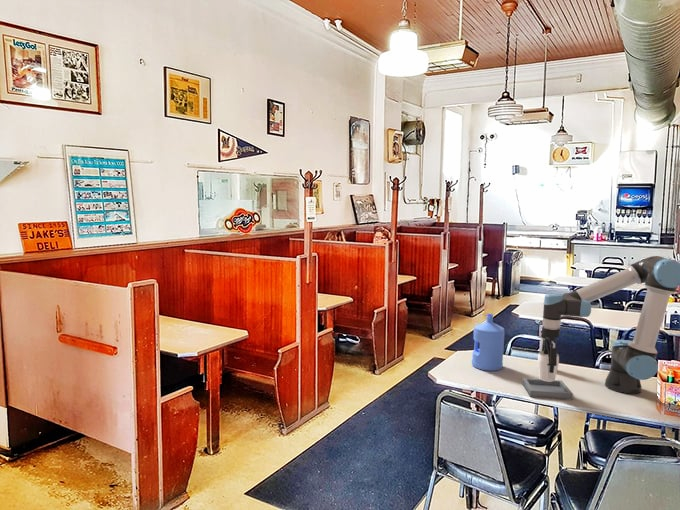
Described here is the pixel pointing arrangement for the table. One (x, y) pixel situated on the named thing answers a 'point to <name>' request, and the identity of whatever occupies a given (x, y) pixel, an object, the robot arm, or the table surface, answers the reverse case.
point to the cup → (545, 366)
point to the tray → (546, 389)
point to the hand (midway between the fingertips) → (547, 375)
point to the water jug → (488, 345)
